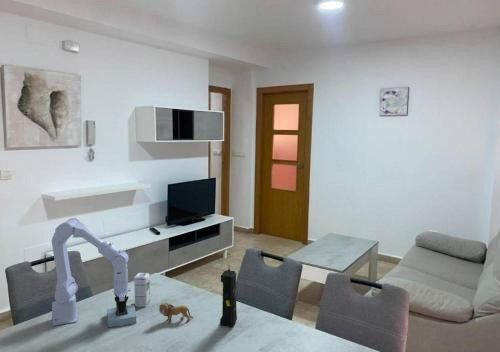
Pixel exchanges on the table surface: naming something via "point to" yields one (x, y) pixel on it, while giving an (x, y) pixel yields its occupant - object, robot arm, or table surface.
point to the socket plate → (121, 317)
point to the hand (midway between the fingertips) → (121, 310)
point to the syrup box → (142, 289)
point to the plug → (118, 311)
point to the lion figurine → (174, 311)
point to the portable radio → (228, 299)
